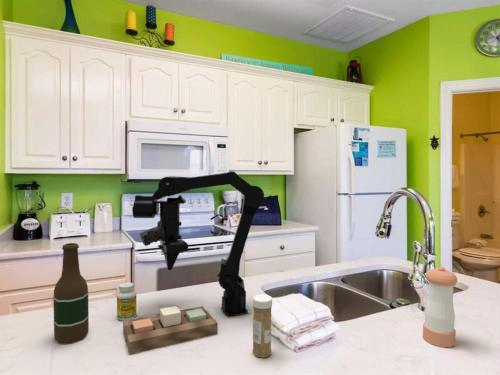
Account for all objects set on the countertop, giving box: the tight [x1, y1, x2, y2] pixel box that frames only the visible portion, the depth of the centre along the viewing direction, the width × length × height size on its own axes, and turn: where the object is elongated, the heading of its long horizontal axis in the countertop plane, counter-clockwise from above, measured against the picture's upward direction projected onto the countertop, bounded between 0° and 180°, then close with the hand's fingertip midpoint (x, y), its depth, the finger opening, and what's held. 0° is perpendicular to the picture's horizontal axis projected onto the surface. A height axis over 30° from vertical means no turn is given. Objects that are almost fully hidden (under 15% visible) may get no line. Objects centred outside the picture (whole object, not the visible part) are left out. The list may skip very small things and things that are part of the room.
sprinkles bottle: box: [252, 294, 273, 358], centre depth 77 cm, size 5×5×13 cm
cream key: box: [159, 305, 181, 327], centre depth 86 cm, size 4×4×3 cm
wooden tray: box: [122, 305, 219, 356], centre depth 86 cm, size 22×12×3 cm, turn 118°
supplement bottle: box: [116, 282, 138, 322], centre depth 95 cm, size 5×5×10 cm
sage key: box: [186, 309, 206, 323], centre depth 89 cm, size 4×4×3 cm
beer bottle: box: [52, 242, 90, 345], centre depth 83 cm, size 8×8×24 cm
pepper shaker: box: [422, 266, 458, 348], centre depth 84 cm, size 7×7×19 cm
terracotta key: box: [132, 318, 153, 334], centre depth 83 cm, size 4×4×3 cm
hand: (169, 269), depth 99 cm, fingers closed
